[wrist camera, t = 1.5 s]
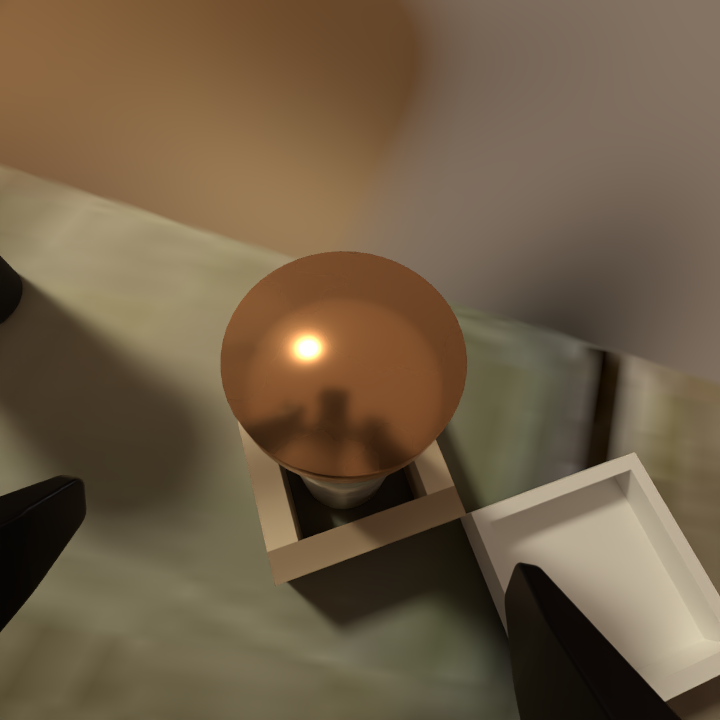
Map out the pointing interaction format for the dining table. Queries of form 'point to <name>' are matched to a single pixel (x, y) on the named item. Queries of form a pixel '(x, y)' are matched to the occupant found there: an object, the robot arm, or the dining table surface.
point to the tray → (611, 567)
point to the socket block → (352, 539)
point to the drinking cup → (8, 290)
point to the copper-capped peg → (343, 370)
